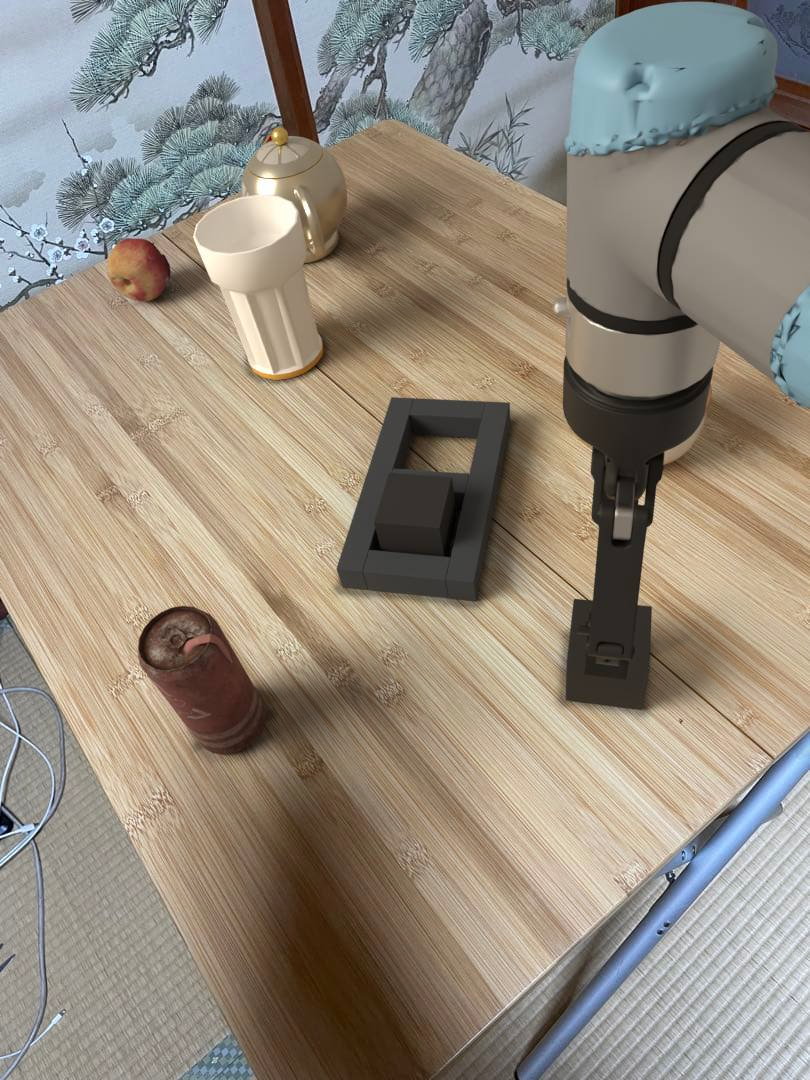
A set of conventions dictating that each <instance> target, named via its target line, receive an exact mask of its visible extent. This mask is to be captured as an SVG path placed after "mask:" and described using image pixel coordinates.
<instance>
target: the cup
mask: <svg viewBox="0 0 810 1080" xmlns="http://www.w3.org/2000/svg"><path fill="white" fill-rule="evenodd" d="M192 236H193V237H192V239H193V241H194V243H195V246H196V248H197V250H198V252H199V256H200V257H201V260H202V263H203V265H204V267H205V270H206V272H207V274H208V276H209V279H210V281H211V282H212V283H213V284H215V285H217V286H218V287H219V289H220V291H221V294H222V297H223V300H224V302H225V305H226V307H227V309H228V312H229V314H230V317H231V319H232V322H233V324H234V327H235V330H236V332H237V335H238V337H239V339H240V342H241V344H242V346H243V347H242V348H243V349H244V353H245V354H246V357H247V361H248V364H249V366H250V369H251V370H252V372H253V373H254V374H256V375H258V376H259V377H262V378H265V379H268V380H275V381H279V380H287V379H293V378H295V377H298V376H301V375H304V374H306V373H307V372H308V371H310V370H311V369H312V368H313V367H315V366H316V365H317V364H318V362H320V360H321V358H322V357H323V355H324V343H323V339H322V337H321V335H320V334H319V332H318V329H317V324H316V319H315V315H314V311H313V306H312V303H311V298H310V294H309V289H308V286H307V281H306V276H305V272H304V267H303V265H304V264H305V263H304V261H305V259H306V249H307V247H306V242H305V238H304V233H303V228H302V224H301V219H300V214H299V211H298V210H297V208H296V207H295V205H294V204H293V202H291V201H289V200H286V199H284V198H282V197H280V196H273V195H262V194H260V195H253V196H246V197H238V198H235V199H232V200H229V201H226V202H222V203H221V204H219V205H218V206H216V207H214V208H213V209H211V210H209V211H208V212H206V213H205V214H204V216H202V218H201V219H200V220H199V221H198V222H197V223H196V225H195V228H194V232H193V235H192Z"/></svg>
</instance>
